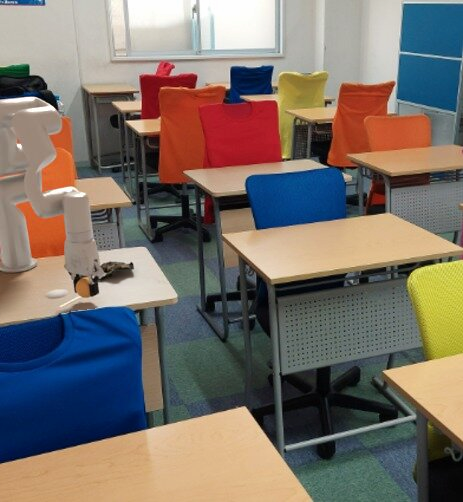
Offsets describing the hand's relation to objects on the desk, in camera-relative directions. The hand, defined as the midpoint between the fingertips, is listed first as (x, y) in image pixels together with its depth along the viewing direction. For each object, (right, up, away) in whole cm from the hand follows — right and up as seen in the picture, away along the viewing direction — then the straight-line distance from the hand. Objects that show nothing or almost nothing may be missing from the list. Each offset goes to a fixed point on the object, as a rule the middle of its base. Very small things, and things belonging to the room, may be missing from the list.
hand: (86, 292), depth 183 cm
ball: (0, -1, 0) cm, 1 cm away
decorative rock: (+1, +4, +23) cm, 23 cm away
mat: (-5, -2, +5) cm, 8 cm away
